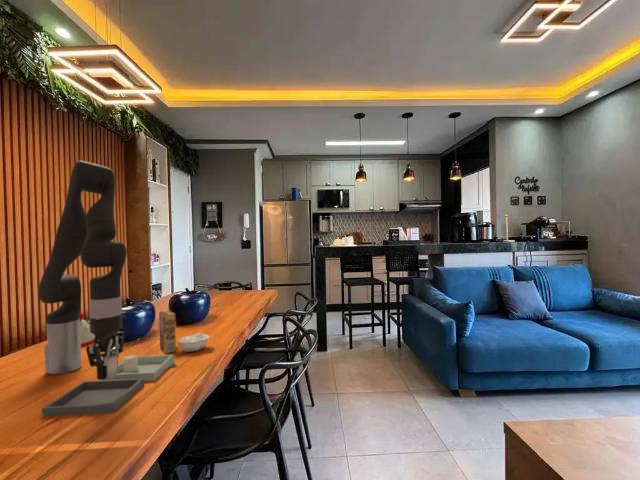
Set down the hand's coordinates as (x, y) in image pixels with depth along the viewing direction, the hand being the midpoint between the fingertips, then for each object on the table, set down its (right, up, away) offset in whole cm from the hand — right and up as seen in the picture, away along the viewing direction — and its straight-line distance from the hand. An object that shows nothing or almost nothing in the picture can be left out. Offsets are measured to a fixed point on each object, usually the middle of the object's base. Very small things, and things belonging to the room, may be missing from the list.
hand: (107, 374), depth 91 cm
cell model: (+8, -7, +41) cm, 42 cm away
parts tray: (-3, -8, 0) cm, 8 cm away
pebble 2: (-4, -7, +18) cm, 20 cm away
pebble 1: (0, 0, 0) cm, 0 cm away
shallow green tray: (-1, -8, +18) cm, 20 cm away
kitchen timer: (-48, -9, +53) cm, 72 cm away
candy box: (-3, -7, +42) cm, 43 cm away
